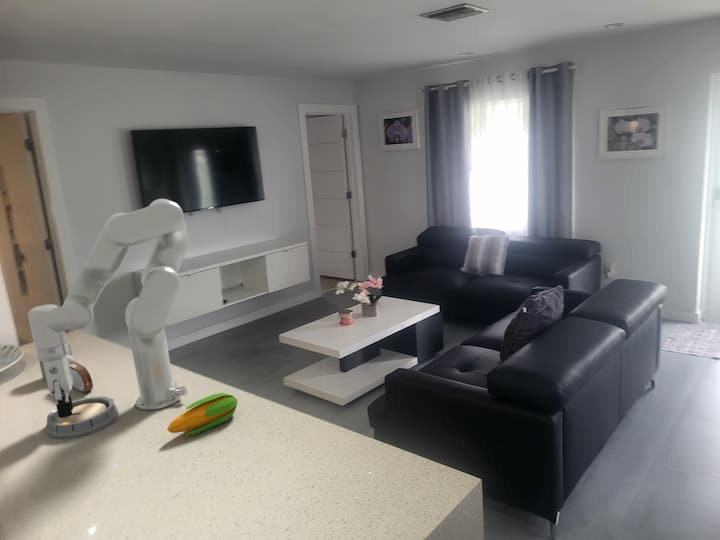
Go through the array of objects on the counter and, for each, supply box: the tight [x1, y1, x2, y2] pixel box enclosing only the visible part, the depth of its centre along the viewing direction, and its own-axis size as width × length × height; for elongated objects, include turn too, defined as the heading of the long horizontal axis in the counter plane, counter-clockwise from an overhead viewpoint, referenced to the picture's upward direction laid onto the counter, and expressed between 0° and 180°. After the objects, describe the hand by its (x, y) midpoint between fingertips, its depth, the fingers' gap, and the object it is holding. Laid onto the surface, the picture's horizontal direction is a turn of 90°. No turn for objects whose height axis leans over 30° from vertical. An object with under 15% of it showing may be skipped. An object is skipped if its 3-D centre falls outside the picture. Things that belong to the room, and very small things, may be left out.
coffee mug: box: [38, 343, 76, 383], centre depth 186 cm, size 13×10×10 cm
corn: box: [166, 392, 238, 437], centre depth 144 cm, size 7×8×20 cm
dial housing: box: [45, 396, 119, 440], centre depth 153 cm, size 18×18×4 cm
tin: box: [69, 360, 94, 393], centre depth 176 cm, size 15×3×8 cm, turn 49°
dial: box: [57, 395, 106, 423], centre depth 152 cm, size 12×12×7 cm
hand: (66, 412), depth 152 cm, fingers open, 3 cm apart
